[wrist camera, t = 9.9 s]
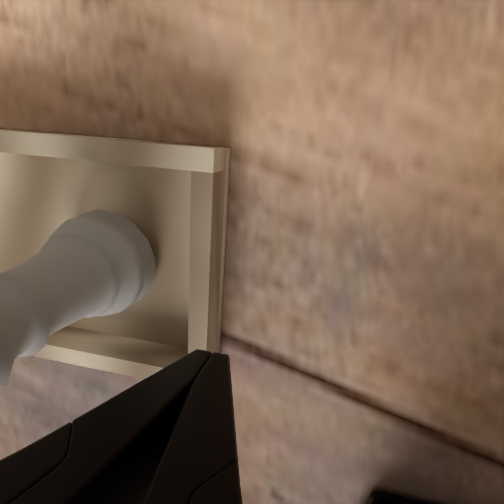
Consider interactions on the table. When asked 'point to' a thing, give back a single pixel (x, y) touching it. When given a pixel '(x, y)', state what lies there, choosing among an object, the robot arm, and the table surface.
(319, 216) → the table surface
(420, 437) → the table surface
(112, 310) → the rook chess piece
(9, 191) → the tray
